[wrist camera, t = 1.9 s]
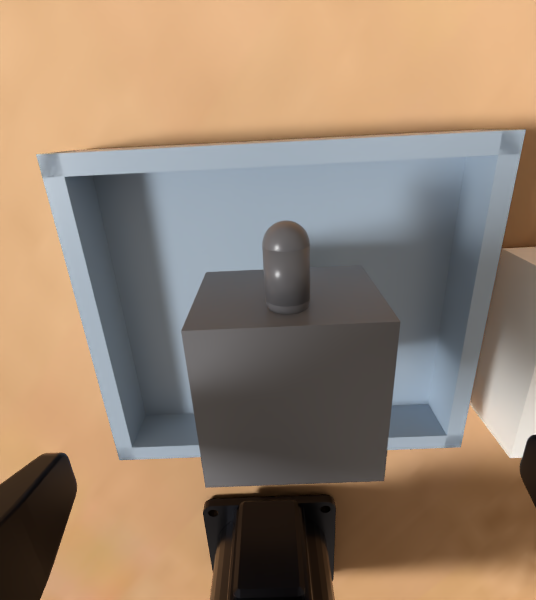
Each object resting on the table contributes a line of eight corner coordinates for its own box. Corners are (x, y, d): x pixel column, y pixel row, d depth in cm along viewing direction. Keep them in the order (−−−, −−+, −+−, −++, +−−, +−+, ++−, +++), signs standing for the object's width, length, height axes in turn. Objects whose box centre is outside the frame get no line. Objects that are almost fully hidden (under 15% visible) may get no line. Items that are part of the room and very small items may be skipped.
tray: (435, 405, 17) (460, 447, 15) (138, 417, 17) (119, 460, 15) (479, 129, 12) (525, 129, 10) (76, 150, 13) (36, 154, 10)
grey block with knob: (340, 351, 15) (384, 480, 9) (228, 356, 15) (205, 487, 10) (346, 184, 12) (410, 226, 7) (210, 190, 12) (166, 238, 7)
